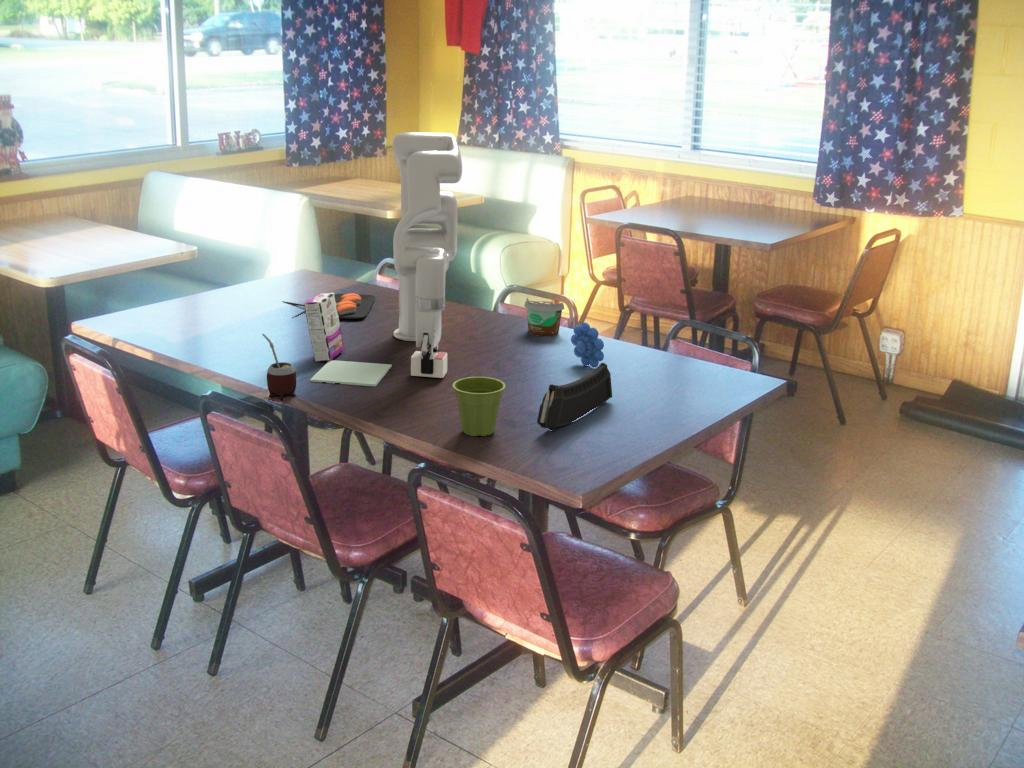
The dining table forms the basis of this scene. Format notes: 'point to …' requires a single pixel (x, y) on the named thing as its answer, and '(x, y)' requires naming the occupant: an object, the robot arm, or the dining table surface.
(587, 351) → the grapes
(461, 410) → the plant pot
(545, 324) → the food container
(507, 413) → the dining table surface
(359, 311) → the sushi plate
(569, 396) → the magazine
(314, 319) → the candy bar box
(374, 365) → the mat
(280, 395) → the mate gourd
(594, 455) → the dining table surface
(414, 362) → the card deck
